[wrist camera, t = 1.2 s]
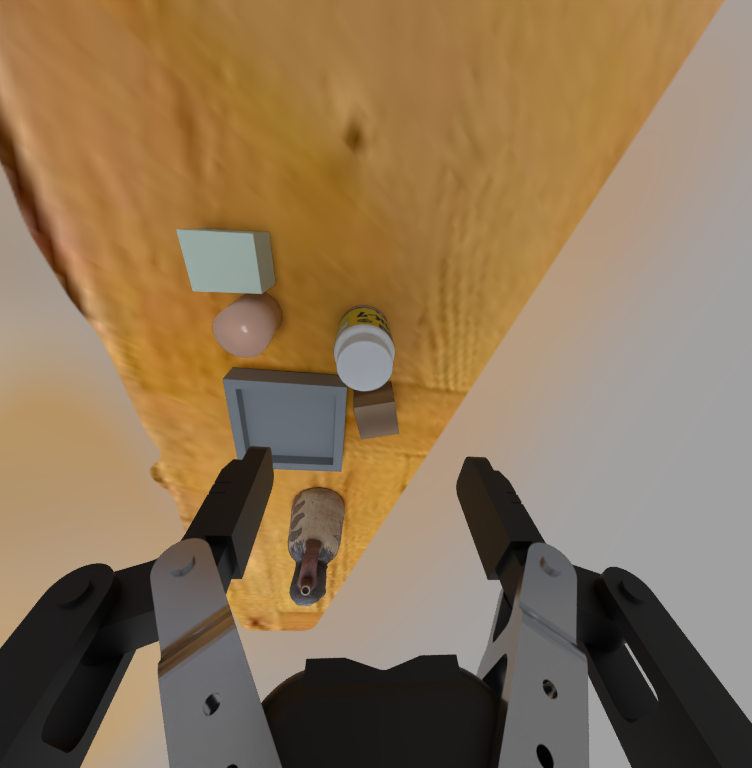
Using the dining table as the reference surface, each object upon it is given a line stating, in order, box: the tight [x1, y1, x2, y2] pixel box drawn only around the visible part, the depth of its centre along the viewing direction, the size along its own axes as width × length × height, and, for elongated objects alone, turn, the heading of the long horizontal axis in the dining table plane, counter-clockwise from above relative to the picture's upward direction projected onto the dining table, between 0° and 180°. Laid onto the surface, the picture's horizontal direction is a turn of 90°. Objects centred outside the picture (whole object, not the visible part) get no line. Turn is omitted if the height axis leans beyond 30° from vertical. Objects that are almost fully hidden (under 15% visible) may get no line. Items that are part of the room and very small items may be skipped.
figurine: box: [288, 488, 344, 606], centre depth 34 cm, size 7×7×12 cm
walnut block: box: [354, 382, 399, 439], centre depth 29 cm, size 4×4×4 cm
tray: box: [223, 368, 347, 472], centre depth 30 cm, size 12×12×2 cm
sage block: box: [176, 229, 275, 294], centre depth 21 cm, size 4×5×4 cm
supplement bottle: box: [334, 306, 395, 391], centre depth 23 cm, size 5×5×8 cm
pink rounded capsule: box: [213, 293, 282, 357], centre depth 23 cm, size 4×4×5 cm
